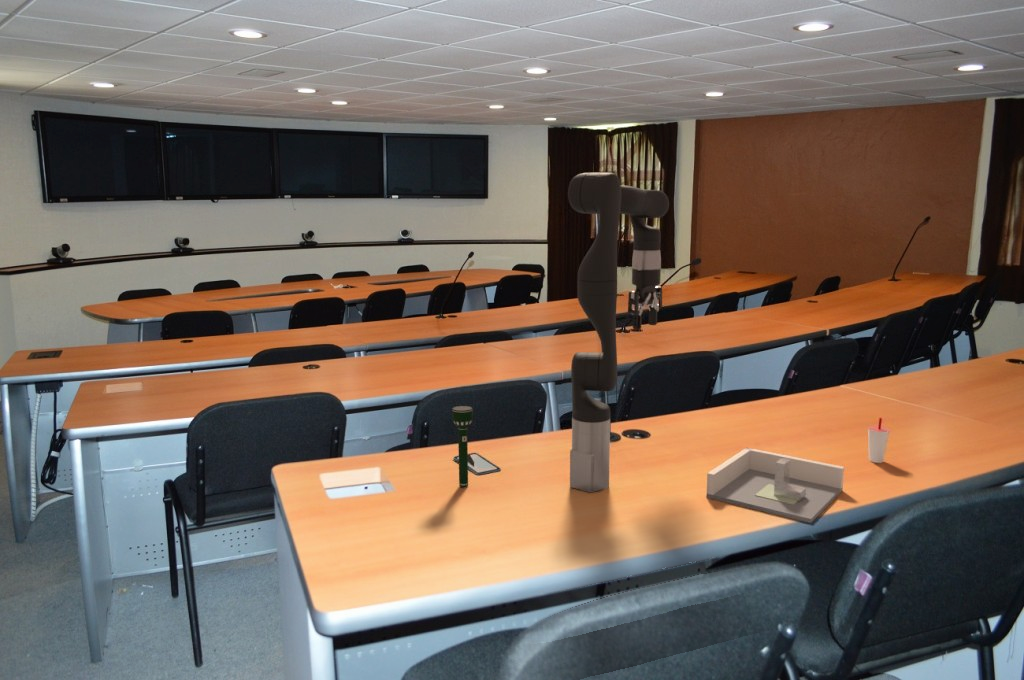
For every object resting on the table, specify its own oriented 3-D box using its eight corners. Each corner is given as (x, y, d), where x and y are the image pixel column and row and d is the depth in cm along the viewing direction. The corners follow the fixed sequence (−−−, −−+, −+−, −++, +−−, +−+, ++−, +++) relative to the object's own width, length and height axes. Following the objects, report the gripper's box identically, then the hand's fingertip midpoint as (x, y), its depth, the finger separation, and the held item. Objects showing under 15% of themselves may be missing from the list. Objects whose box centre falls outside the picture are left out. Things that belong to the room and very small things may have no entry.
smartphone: (477, 474, 192) (452, 456, 205) (477, 478, 193) (452, 460, 205) (502, 469, 196) (476, 452, 209) (502, 472, 196) (476, 455, 209)
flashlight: (457, 491, 182) (455, 411, 178) (450, 484, 186) (448, 406, 183) (477, 488, 184) (475, 409, 180) (469, 481, 188) (468, 404, 185)
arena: (810, 523, 163) (812, 497, 162) (706, 497, 177) (707, 473, 176) (842, 490, 181) (844, 466, 180) (745, 469, 196) (746, 447, 195)
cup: (889, 464, 199) (893, 421, 197) (867, 463, 200) (871, 419, 198) (884, 458, 204) (887, 415, 202) (862, 457, 205) (866, 414, 203)
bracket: (773, 495, 175) (775, 462, 174) (779, 490, 178) (781, 457, 177) (799, 501, 172) (802, 467, 170) (805, 496, 175) (807, 463, 173)
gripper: (647, 264, 208) (645, 322, 211) (620, 268, 197) (619, 329, 200) (671, 265, 203) (669, 325, 206) (645, 269, 193) (643, 332, 196)
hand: (644, 327), depth 203 cm, fingers open, 8 cm apart
